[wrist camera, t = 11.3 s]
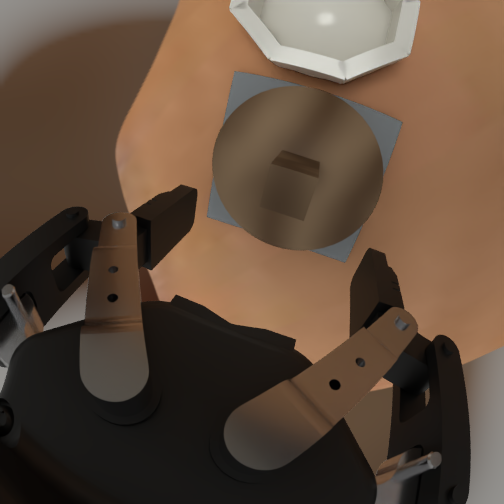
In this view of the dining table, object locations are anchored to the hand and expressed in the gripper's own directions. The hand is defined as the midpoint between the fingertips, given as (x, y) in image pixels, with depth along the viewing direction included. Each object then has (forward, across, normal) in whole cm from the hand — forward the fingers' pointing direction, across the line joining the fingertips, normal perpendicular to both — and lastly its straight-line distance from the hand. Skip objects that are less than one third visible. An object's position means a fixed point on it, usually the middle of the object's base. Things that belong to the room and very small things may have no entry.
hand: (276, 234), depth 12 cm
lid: (+12, +1, 0) cm, 12 cm away
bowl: (+12, +2, -14) cm, 19 cm away
